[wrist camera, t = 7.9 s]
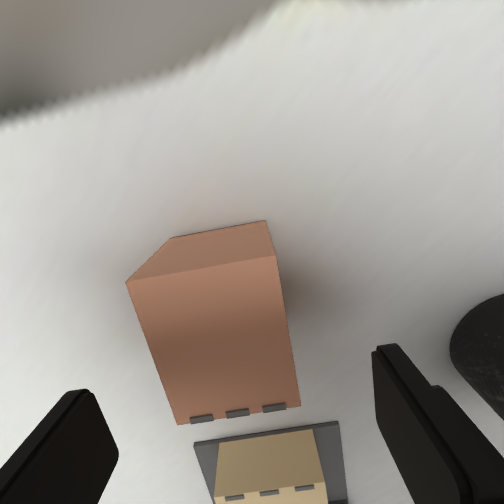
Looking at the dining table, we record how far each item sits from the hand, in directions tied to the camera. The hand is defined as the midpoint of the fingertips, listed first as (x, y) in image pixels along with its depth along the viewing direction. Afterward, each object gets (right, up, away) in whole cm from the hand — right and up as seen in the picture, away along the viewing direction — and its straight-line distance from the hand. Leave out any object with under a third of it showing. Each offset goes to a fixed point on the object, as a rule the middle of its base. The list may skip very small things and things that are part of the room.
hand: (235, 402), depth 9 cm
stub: (-1, +3, +8) cm, 8 cm away
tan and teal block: (+3, -14, +13) cm, 19 cm away
